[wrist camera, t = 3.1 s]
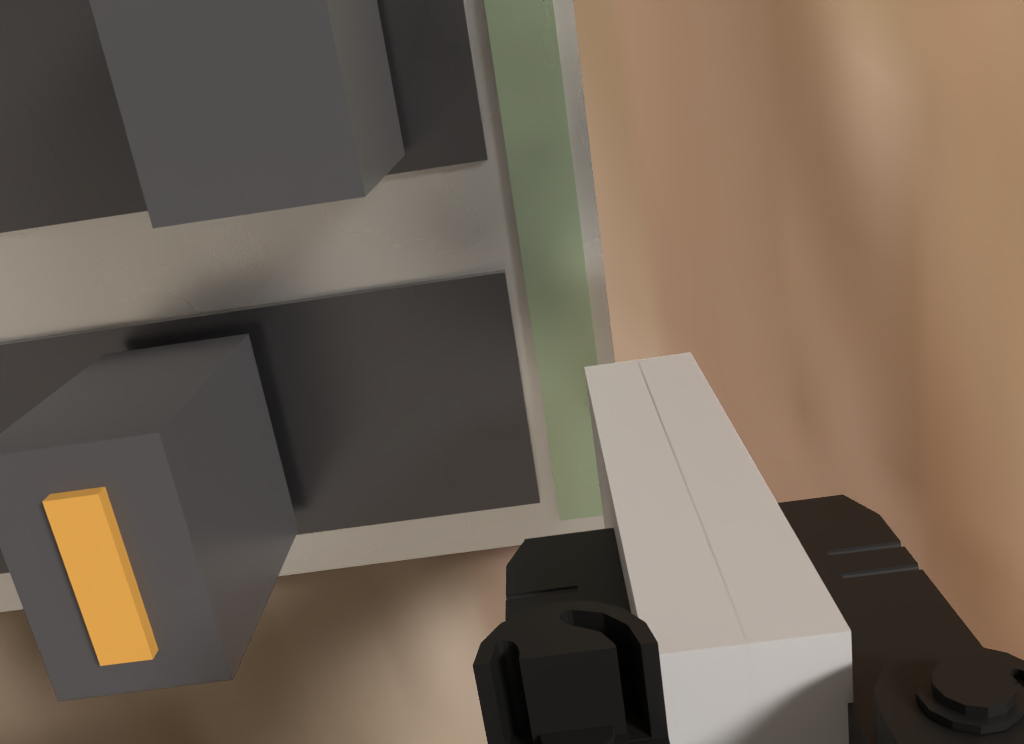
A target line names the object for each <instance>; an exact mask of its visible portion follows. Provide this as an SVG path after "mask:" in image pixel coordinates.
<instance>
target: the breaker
mask: <svg viewBox="0 0 1024 744" xmlns="http://www.w3.org/2000/svg"><path fill="white" fill-rule="evenodd" d="M89 1H90V5H91V9H92V12H93V16H94V19H95V23H96V27H97V30H98V34H99V37H100V41H101V44H102V48H103V52H104V55H105V59H106V62H107V66H108V70H109V73H110V77H111V80H112V84H113V88H114V91H115V95H116V98H117V102H118V105H119V109H120V113H121V116H122V120H123V123H124V127H125V131H126V134H127V138H128V141H129V145H130V148H131V152H132V156H133V159H134V163H135V166H136V170H137V174H138V177H139V181H140V184H141V188H142V191H143V195H144V199H145V202H146V206H147V209H148V213H149V217H150V220H151V224H152V227H153V228H160V227H166V226H173V225H180V224H186V223H193V222H200V221H207V220H213V219H220V218H227V217H233V216H240V215H247V214H253V213H260V212H267V211H274V210H280V209H287V208H294V207H300V206H307V205H314V204H321V203H327V202H334V201H341V200H347V199H354V198H361V197H366V196H367V195H368V193H369V192H370V191H371V190H372V189H373V188H374V187H375V186H376V185H377V184H378V183H379V182H380V181H381V180H382V179H383V178H384V177H385V175H386V174H387V173H388V172H389V171H390V170H391V169H392V168H393V167H394V166H395V165H396V164H397V163H398V162H399V161H400V160H401V158H402V157H403V156H404V155H405V152H404V147H403V141H402V136H401V130H400V125H399V119H398V114H397V108H396V103H395V97H394V92H393V86H392V81H391V75H390V70H389V64H388V59H387V53H386V48H385V42H384V37H383V31H382V26H381V20H380V15H379V9H378V4H377V0H89Z"/></svg>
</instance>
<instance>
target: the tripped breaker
mask: <svg viewBox="0 0 1024 744" xmlns="http://www.w3.org/2000/svg"><path fill="white" fill-rule="evenodd" d="M297 532H298V526H297V522H296V518H295V514H294V511H293V507H292V503H291V499H290V495H289V491H288V487H287V483H286V479H285V475H284V471H283V467H282V463H281V459H280V455H279V451H278V448H277V444H276V440H275V436H274V432H273V428H272V424H271V420H270V416H269V412H268V408H267V404H266V400H265V396H264V392H263V388H262V384H261V381H260V377H259V373H258V369H257V365H256V361H255V357H254V353H253V349H252V345H251V341H250V337H249V334H242V335H235V336H228V337H221V338H214V339H207V340H200V341H193V342H186V343H179V344H172V345H165V346H158V347H151V348H144V349H137V350H130V351H123V352H116V353H109V354H103V355H102V356H101V357H100V358H98V359H97V360H96V361H94V362H93V363H92V364H90V365H89V366H88V367H86V368H85V369H84V370H83V371H81V372H80V373H79V374H77V375H76V376H75V377H73V378H72V379H71V380H70V381H68V382H67V383H66V384H64V385H63V386H62V387H60V388H59V389H58V390H56V391H55V392H54V393H53V394H51V395H50V396H49V397H47V398H46V399H45V400H43V401H42V402H41V403H40V404H38V405H37V406H36V407H34V408H33V409H32V410H30V411H29V412H28V413H26V414H25V415H24V416H23V417H21V418H20V419H19V420H17V421H16V422H15V423H13V424H12V425H11V426H10V427H8V428H7V429H6V430H4V431H3V432H2V433H0V548H1V551H2V554H3V556H4V559H5V562H6V564H7V567H8V569H9V572H10V575H11V577H12V580H13V583H14V585H15V588H16V591H17V593H18V596H19V599H20V601H21V604H22V606H23V609H24V612H25V614H26V617H27V620H28V622H29V625H30V628H31V630H32V633H33V635H34V638H35V641H36V643H37V646H38V649H39V651H40V654H41V657H42V659H43V662H44V665H45V667H46V670H47V672H48V675H49V678H50V680H51V683H52V686H53V688H54V691H55V694H56V696H57V699H58V701H64V700H72V699H81V698H89V697H97V696H105V695H113V694H121V693H129V692H137V691H145V690H153V689H161V688H169V687H177V686H185V685H193V684H202V683H210V682H218V681H226V680H233V678H234V676H235V674H236V672H237V669H238V667H239V665H240V662H241V660H242V658H243V656H244V653H245V651H246V649H247V646H248V644H249V642H250V640H251V637H252V635H253V633H254V630H255V628H256V626H257V624H258V621H259V619H260V617H261V614H262V612H263V610H264V608H265V605H266V603H267V601H268V598H269V596H270V594H271V592H272V589H273V587H274V585H275V582H276V580H277V578H278V576H279V573H280V571H281V569H282V566H283V564H284V562H285V560H286V557H287V555H288V553H289V550H290V548H291V546H292V543H293V541H294V539H295V537H296V534H297Z"/></svg>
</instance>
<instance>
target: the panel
mask: <svg viewBox="0 0 1024 744" xmlns="http://www.w3.org/2000/svg"><path fill="white" fill-rule="evenodd" d="M377 4H378V9H379V15H380V20H381V26H382V31H383V37H384V42H385V48H386V53H387V59H388V64H389V70H390V75H391V81H392V86H393V92H394V97H395V103H396V108H397V114H398V119H399V125H400V130H401V136H402V141H403V147H404V152H405V155H404V156H403V157H402V158H401V160H400V161H399V162H398V163H397V164H396V165H395V166H394V167H393V168H392V169H391V170H390V171H389V172H388V173H387V174H386V175H385V177H384V178H383V179H382V180H381V181H380V182H379V183H378V184H377V185H376V186H375V187H374V188H373V189H372V190H371V191H370V192H369V193H368V195H367V196H366V197H361V198H354V199H347V200H341V201H334V202H327V203H321V204H314V205H307V206H300V207H294V208H287V209H280V210H274V211H267V212H260V213H253V214H247V215H240V216H233V217H227V218H220V219H213V220H207V221H200V222H193V223H186V224H180V225H173V226H166V227H160V228H153V227H152V224H151V220H150V217H149V213H148V209H147V206H146V202H145V199H144V195H143V191H142V188H141V184H140V181H139V177H138V174H137V170H136V166H135V163H134V159H133V156H132V152H131V148H130V145H129V141H128V138H127V134H126V131H125V127H124V123H123V120H122V116H121V113H120V109H119V105H118V102H117V98H116V95H115V91H114V88H113V84H112V80H111V77H110V73H109V70H108V66H107V62H106V59H105V55H104V52H103V48H102V44H101V41H100V37H99V34H98V30H97V27H96V23H95V19H94V16H93V12H92V9H91V5H90V1H89V0H0V433H2V432H3V431H4V430H6V429H7V428H8V427H10V426H11V425H12V424H13V423H15V422H16V421H17V420H19V419H20V418H21V417H23V416H24V415H25V414H26V413H28V412H29V411H30V410H32V409H33V408H34V407H36V406H37V405H38V404H40V403H41V402H42V401H43V400H45V399H46V398H47V397H49V396H50V395H51V394H53V393H54V392H55V391H56V390H58V389H59V388H60V387H62V386H63V385H64V384H66V383H67V382H68V381H70V380H71V379H72V378H73V377H75V376H76V375H77V374H79V373H80V372H81V371H83V370H84V369H85V368H86V367H88V366H89V365H90V364H92V363H93V362H94V361H96V360H97V359H98V358H100V357H101V356H102V355H103V354H109V353H116V352H123V351H130V350H137V349H144V348H151V347H158V346H165V345H172V344H179V343H186V342H193V341H200V340H207V339H214V338H221V337H228V336H235V335H242V334H249V337H250V341H251V345H252V349H253V353H254V357H255V361H256V365H257V369H258V373H259V377H260V381H261V384H262V388H263V392H264V396H265V400H266V404H267V408H268V412H269V416H270V420H271V424H272V428H273V432H274V436H275V440H276V444H277V448H278V451H279V455H280V459H281V463H282V467H283V471H284V475H285V479H286V483H287V487H288V491H289V495H290V499H291V503H292V507H293V511H294V514H295V518H296V522H297V526H298V532H297V534H296V537H295V539H294V541H293V543H292V546H291V548H290V550H289V553H288V555H287V557H286V560H285V562H284V564H283V566H282V569H281V571H280V573H279V576H284V575H292V574H300V573H307V572H315V571H323V570H331V569H338V568H346V567H354V566H362V565H369V564H377V563H385V562H393V561H400V560H408V559H416V558H424V557H431V556H439V555H447V554H455V553H462V552H470V551H478V550H485V549H493V548H501V547H509V546H516V545H521V544H522V543H523V542H524V540H525V539H529V538H537V537H544V536H552V535H560V534H568V533H575V532H583V531H591V530H599V529H605V525H604V517H603V509H602V502H601V494H600V486H599V478H598V471H597V463H596V455H595V447H594V440H593V432H592V424H591V416H590V409H589V401H588V393H587V385H586V378H585V370H584V367H587V366H595V365H602V364H609V363H615V360H614V351H613V342H612V334H611V325H610V317H609V308H608V299H607V291H606V282H605V274H604V265H603V256H602V248H601V239H600V231H599V222H598V213H597V205H596V196H595V188H594V179H593V170H592V162H591V153H590V144H589V136H588V127H587V119H586V110H585V101H584V93H583V84H582V76H581V67H580V58H579V50H578V41H577V33H576V24H575V15H574V7H573V0H377ZM21 609H23V606H22V604H21V601H20V599H19V596H18V593H17V591H16V588H15V585H14V583H13V580H12V577H11V575H10V572H9V569H8V567H7V564H6V562H5V559H4V556H3V554H2V551H1V548H0V612H6V611H13V610H21Z"/></svg>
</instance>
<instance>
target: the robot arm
mask: <svg viewBox="0 0 1024 744" xmlns="http://www.w3.org/2000/svg"><path fill="white" fill-rule="evenodd" d="M584 370H585V378H586V385H587V393H588V401H589V409H590V416H591V424H592V432H593V440H594V447H595V455H596V463H597V471H598V478H599V486H600V494H601V502H602V509H603V517H604V525H605V529H599V530H591V531H583V532H575V533H568V534H560V535H552V536H544V537H537V538H529V539H525V540H524V542H523V543H522V544H521V546H520V547H519V549H518V550H517V551H516V553H515V554H514V556H513V557H512V559H511V560H510V561H509V563H508V564H507V566H506V598H507V600H506V621H505V622H503V623H501V624H500V625H499V626H498V627H497V628H496V629H495V630H494V631H493V632H492V633H491V634H490V635H489V636H488V637H487V638H486V639H485V640H484V641H483V642H482V643H481V644H480V647H479V650H478V653H477V655H476V658H475V661H474V664H473V669H474V674H475V679H476V684H477V690H478V695H479V700H480V705H481V710H482V716H483V721H484V726H485V731H486V736H487V742H488V744H1024V660H1021V659H1019V658H1017V657H1015V656H1013V655H1010V654H1008V653H1005V652H1001V651H996V650H992V649H987V648H983V647H982V645H981V644H980V643H979V641H978V640H977V639H976V638H975V636H974V635H973V634H972V632H971V631H970V630H969V629H968V627H967V626H966V625H965V623H964V622H963V621H962V620H961V618H960V617H959V616H958V615H957V613H956V612H955V611H954V609H953V608H952V607H951V606H950V604H949V603H948V602H947V600H946V599H945V598H944V597H943V595H942V594H941V593H940V591H939V590H938V589H937V588H936V586H935V585H934V584H933V582H932V581H931V580H930V579H929V577H928V576H927V575H926V574H925V572H924V571H923V570H919V568H918V563H917V562H916V561H915V559H914V558H913V557H912V556H911V554H910V553H909V552H908V550H907V549H906V548H905V547H901V543H900V540H899V539H898V538H897V536H896V535H895V534H894V533H893V531H892V530H891V529H890V527H889V526H888V525H887V524H886V522H885V521H884V520H883V518H882V517H881V516H880V515H879V514H877V513H876V512H874V511H872V510H870V509H868V508H866V507H865V506H863V505H861V504H859V503H857V502H855V501H854V500H852V499H850V498H848V497H846V496H844V495H836V496H829V497H821V498H813V499H805V500H798V501H790V502H782V503H777V501H776V500H775V498H774V496H773V495H772V493H771V491H770V489H769V488H768V486H767V484H766V482H765V481H764V479H763V477H762V475H761V474H760V472H759V470H758V468H757V467H756V465H755V463H754V462H753V460H752V458H751V456H750V455H749V453H748V451H747V449H746V448H745V446H744V444H743V442H742V441H741V439H740V437H739V436H738V434H737V432H736V430H735V429H734V427H733V425H732V423H731V422H730V420H729V418H728V416H727V415H726V413H725V411H724V409H723V408H722V406H721V404H720V403H719V401H718V399H717V397H716V396H715V394H714V392H713V390H712V389H711V387H710V385H709V383H708V382H707V380H706V378H705V377H704V375H703V373H702V371H701V370H700V368H699V366H698V364H697V363H696V361H695V359H694V357H693V356H692V354H691V352H689V353H682V354H674V355H667V356H660V357H653V358H645V359H638V360H631V361H624V362H616V363H609V364H602V365H595V366H587V367H584Z"/></svg>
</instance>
